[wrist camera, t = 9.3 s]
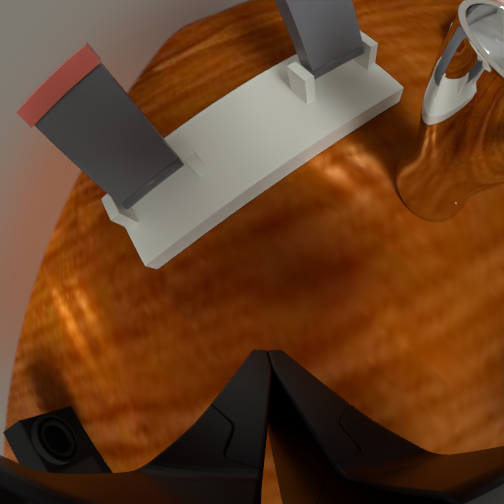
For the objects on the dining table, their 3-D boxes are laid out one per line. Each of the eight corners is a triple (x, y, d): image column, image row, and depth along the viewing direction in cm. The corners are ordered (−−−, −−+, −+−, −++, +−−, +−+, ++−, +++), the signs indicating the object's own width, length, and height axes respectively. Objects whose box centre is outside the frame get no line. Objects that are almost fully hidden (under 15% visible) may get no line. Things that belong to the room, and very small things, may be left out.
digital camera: (138, 493, 21) (96, 528, 14) (105, 502, 21) (64, 531, 14) (77, 401, 23) (23, 416, 17) (51, 418, 24) (1, 432, 17)
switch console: (399, 101, 22) (410, 65, 17) (157, 269, 24) (123, 260, 19) (336, 48, 24) (336, 11, 19) (119, 193, 26) (85, 174, 21)
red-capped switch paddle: (189, 169, 20) (86, 45, 12) (129, 216, 20) (16, 112, 12) (181, 156, 21) (87, 42, 13) (125, 200, 22) (23, 102, 13)
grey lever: (369, 57, 19) (332, -70, 10) (318, 85, 20) (263, -52, 11) (351, 50, 20) (312, -68, 11) (302, 76, 21) (247, -49, 12)
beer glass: (371, 188, 21) (429, 30, 7) (415, 127, 21) (472, -20, 7) (444, 247, 20) (585, 164, 5) (481, 180, 20) (587, 72, 5)
